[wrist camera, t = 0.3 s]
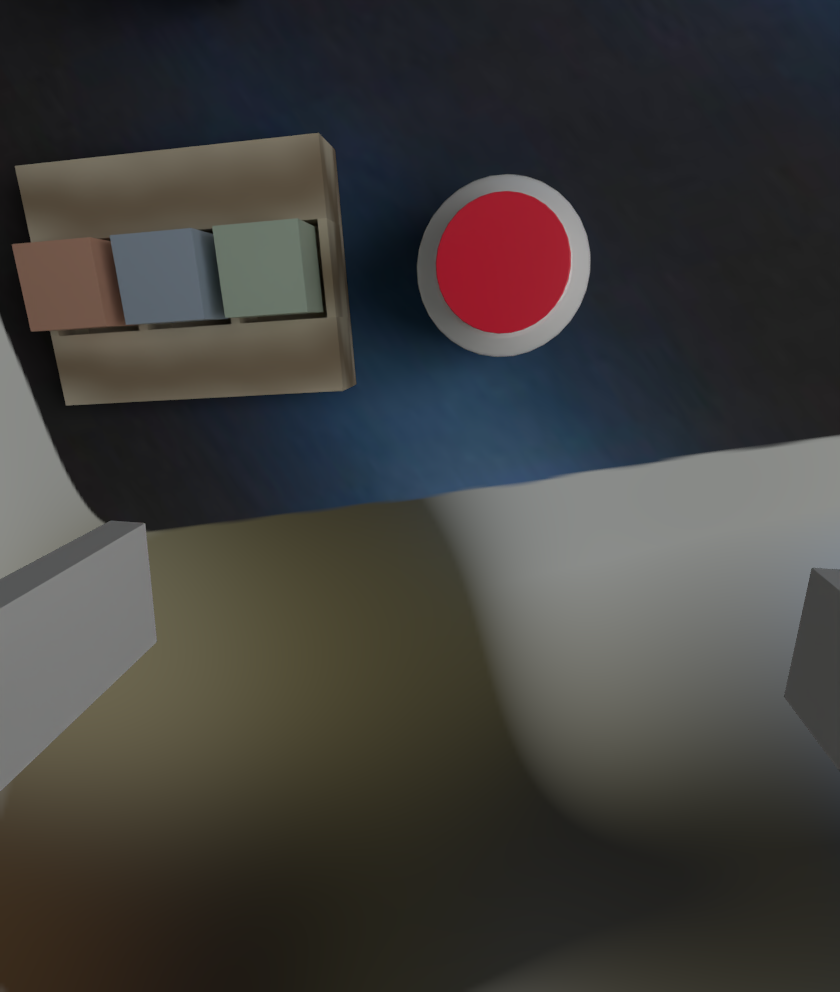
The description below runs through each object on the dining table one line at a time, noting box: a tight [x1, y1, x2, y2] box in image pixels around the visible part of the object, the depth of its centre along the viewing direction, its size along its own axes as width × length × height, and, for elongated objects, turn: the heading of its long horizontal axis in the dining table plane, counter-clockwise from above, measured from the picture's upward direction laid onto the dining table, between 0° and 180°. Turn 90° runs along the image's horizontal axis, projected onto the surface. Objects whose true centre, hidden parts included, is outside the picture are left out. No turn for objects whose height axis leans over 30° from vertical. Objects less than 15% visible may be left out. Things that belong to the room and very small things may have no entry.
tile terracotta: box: [12, 237, 135, 331], centre depth 35 cm, size 4×4×3 cm
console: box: [15, 133, 356, 405], centre depth 37 cm, size 13×17×3 cm
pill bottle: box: [417, 174, 590, 357], centre depth 31 cm, size 8×8×11 cm
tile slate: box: [110, 228, 228, 325], centre depth 34 cm, size 4×4×3 cm
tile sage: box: [212, 218, 323, 318], centre depth 33 cm, size 4×4×3 cm
